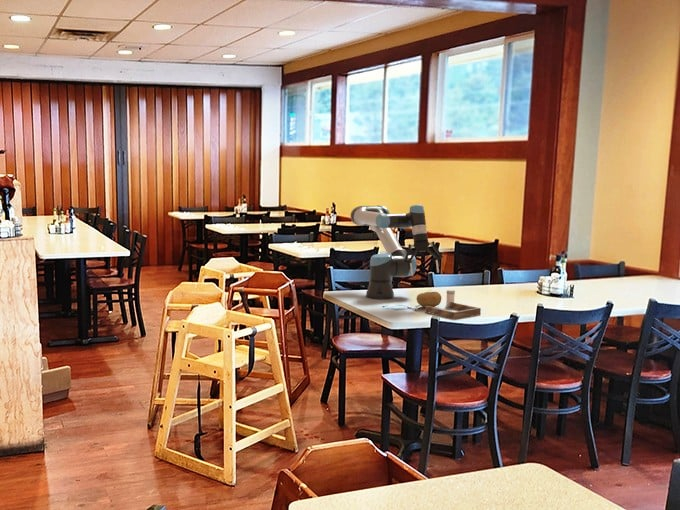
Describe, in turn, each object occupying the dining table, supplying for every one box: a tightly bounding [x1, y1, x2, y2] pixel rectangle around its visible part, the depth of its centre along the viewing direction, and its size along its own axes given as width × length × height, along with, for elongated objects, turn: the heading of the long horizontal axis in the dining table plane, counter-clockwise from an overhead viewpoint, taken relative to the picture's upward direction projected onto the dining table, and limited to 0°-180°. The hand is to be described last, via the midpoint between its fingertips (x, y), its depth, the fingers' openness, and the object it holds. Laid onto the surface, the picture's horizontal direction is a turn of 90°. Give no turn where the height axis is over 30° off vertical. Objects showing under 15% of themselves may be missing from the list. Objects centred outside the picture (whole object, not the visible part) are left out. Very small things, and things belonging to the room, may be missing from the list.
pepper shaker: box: [445, 289, 456, 308], centre depth 362 cm, size 4×4×8 cm
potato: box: [416, 291, 442, 309], centre depth 358 cm, size 10×14×8 cm
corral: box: [425, 301, 482, 320], centre depth 346 cm, size 19×19×3 cm
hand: (425, 274), depth 368 cm, fingers open, 13 cm apart
